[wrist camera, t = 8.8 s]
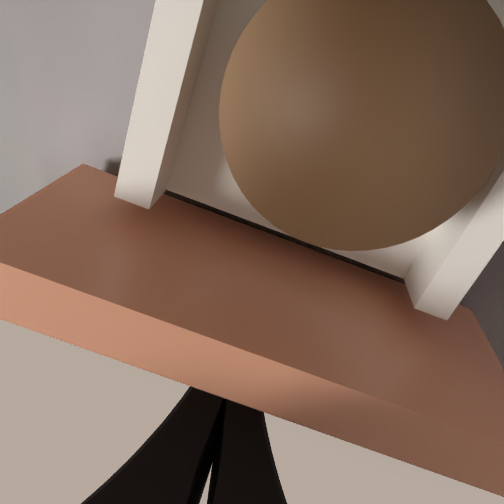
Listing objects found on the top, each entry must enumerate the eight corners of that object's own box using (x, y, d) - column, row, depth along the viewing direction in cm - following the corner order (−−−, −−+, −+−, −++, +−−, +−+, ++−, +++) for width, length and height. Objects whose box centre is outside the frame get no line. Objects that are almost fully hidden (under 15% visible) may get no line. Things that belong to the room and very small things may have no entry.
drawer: (737, -58, 8) (1195, -143, 4) (447, 341, 13) (513, 500, 9) (163, -306, 8) (-25, -718, 3) (75, 204, 12) (-51, 301, 8)
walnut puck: (516, 25, 8) (587, 26, 6) (396, 230, 11) (418, 286, 8) (288, -72, 8) (279, -105, 6) (213, 158, 10) (186, 196, 8)
